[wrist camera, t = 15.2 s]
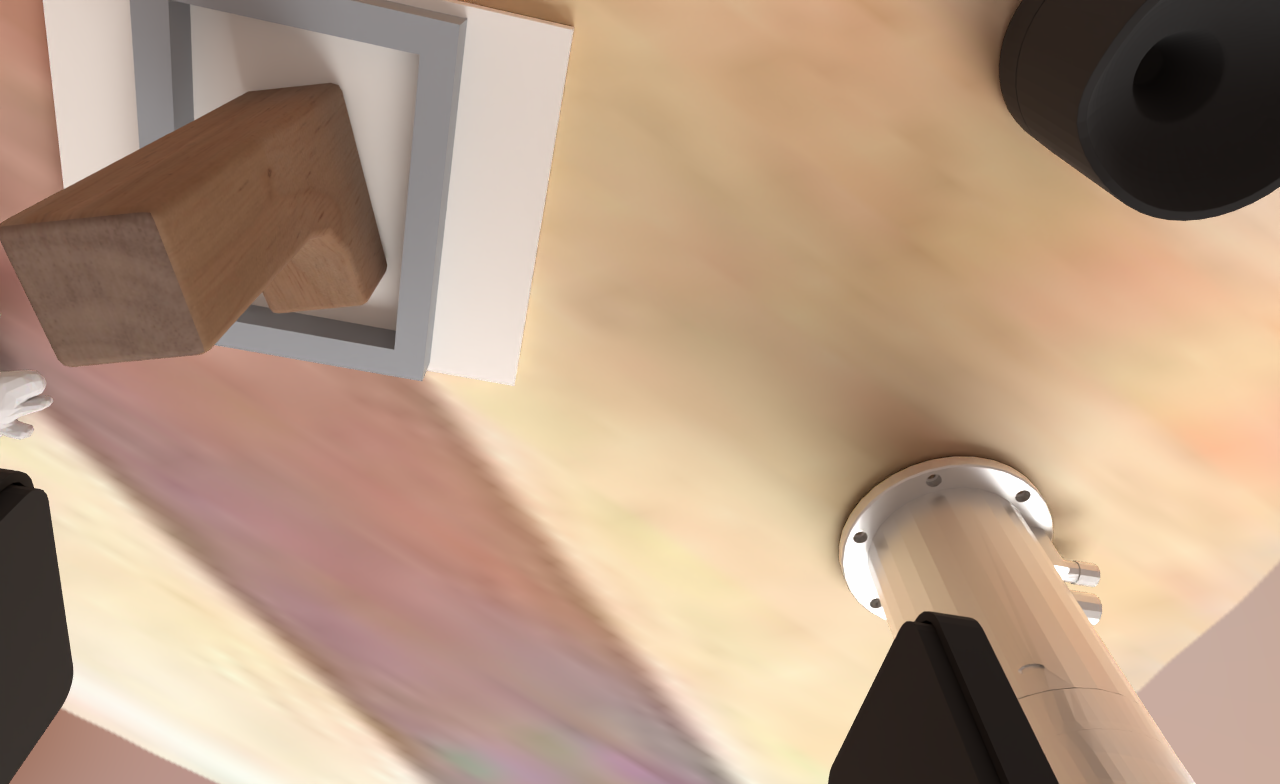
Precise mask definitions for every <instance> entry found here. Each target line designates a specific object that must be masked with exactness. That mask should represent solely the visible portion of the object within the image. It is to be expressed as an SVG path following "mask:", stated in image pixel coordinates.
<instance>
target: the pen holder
mask: <svg viewBox="0 0 1280 784" xmlns="http://www.w3.org/2000/svg"><path fill="white" fill-rule="evenodd" d="M999 78H1000V85H1001V91H1002V94H1003V98H1004V101H1005V103H1006V105H1007V108H1008V110H1009V112H1010V113H1011V115H1012V116H1013V118H1014V119H1015V121H1016V122H1017V123H1018V124H1019V125H1020V126H1021V127H1022V128H1023V129H1024V130H1025V131H1026V132H1027V133H1028V134H1030V135H1031V136H1032V137H1033V138H1035V139H1036V140H1037V141H1039V142H1040V143H1041V144H1042V145H1044V146H1045V147H1046V148H1048V149H1049V150H1050V151H1051V152H1053V153H1054V154H1056V155H1057V156H1058V157H1060V158H1061V159H1063V160H1064V161H1065V162H1067V163H1068V164H1070V165H1071V166H1072V167H1074V168H1075V169H1077V170H1078V171H1079V172H1081V173H1082V174H1084V175H1085V176H1086V177H1088V178H1089V179H1091V180H1092V181H1093V182H1095V183H1096V184H1098V185H1099V186H1100V187H1102V188H1103V189H1105V190H1106V191H1107V192H1109V193H1110V194H1112V195H1113V196H1114V197H1116V198H1117V199H1119V200H1120V201H1121V202H1123V203H1124V204H1126V205H1127V206H1129V207H1131V208H1133V209H1135V210H1137V211H1138V212H1140V213H1143V214H1146V215H1149V216H1152V217H1156V218H1161V219H1166V220H1181V221H1187V220H1200V219H1206V218H1211V217H1216V216H1220V215H1223V214H1226V213H1229V212H1232V211H1235V210H1238V209H1240V208H1242V207H1245V206H1247V205H1249V204H1252V203H1254V202H1255V201H1257V200H1259V199H1261V198H1263V197H1265V196H1266V195H1268V194H1270V193H1271V192H1273V191H1274V190H1276V189H1277V188H1279V187H1280V0H1023V1H1022V2H1021V4H1020V5H1019V7H1018V8H1017V10H1016V12H1015V14H1014V16H1013V18H1012V20H1011V22H1010V24H1009V26H1008V29H1007V32H1006V34H1005V37H1004V41H1003V45H1002V49H1001V55H1000V63H999Z"/></svg>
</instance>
